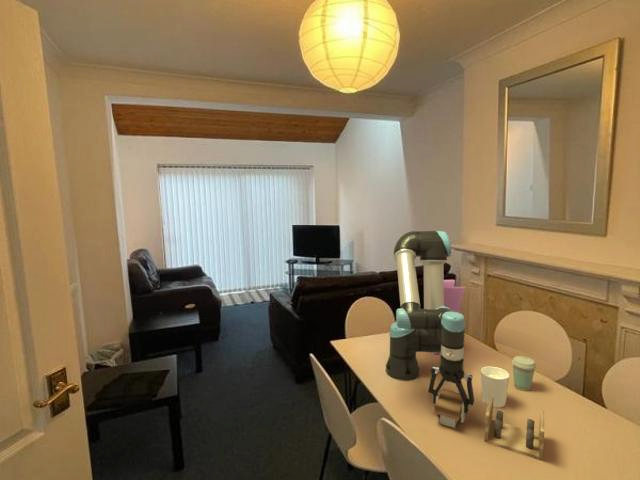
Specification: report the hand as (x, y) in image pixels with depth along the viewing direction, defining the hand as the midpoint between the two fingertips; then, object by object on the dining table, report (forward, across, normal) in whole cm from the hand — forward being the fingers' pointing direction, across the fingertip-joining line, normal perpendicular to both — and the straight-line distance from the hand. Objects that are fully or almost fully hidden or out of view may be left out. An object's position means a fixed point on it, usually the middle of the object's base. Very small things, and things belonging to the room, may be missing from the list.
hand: (450, 415), depth 125 cm
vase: (+2, -16, +58) cm, 60 cm away
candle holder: (+2, +12, +20) cm, 23 cm away
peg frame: (+1, +20, 0) cm, 20 cm away
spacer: (+1, 0, 0) cm, 1 cm away
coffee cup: (+2, +21, +37) cm, 42 cm away
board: (-3, 0, 0) cm, 3 cm away
